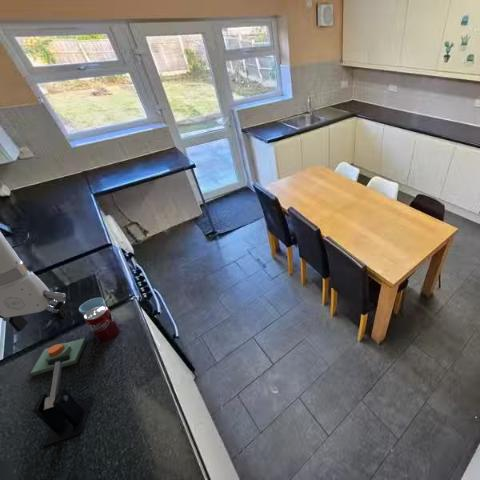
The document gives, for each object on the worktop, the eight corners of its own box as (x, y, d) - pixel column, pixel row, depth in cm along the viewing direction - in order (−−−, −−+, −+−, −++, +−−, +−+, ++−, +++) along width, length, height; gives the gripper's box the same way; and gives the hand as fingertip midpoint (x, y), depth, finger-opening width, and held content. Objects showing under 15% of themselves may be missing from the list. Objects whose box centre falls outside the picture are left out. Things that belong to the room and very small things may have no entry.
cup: (86, 330, 104) (73, 310, 99) (102, 316, 111) (91, 296, 105) (103, 332, 103) (91, 312, 98) (119, 317, 110) (108, 298, 104)
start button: (48, 357, 90) (45, 354, 89) (53, 349, 93) (50, 346, 92) (61, 354, 91) (58, 350, 90) (65, 345, 94) (63, 342, 93)
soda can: (107, 328, 105) (93, 305, 99) (125, 328, 104) (112, 305, 98) (93, 343, 99) (77, 320, 93) (112, 343, 98) (97, 320, 92)
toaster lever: (52, 361, 76) (46, 359, 74) (71, 356, 78) (66, 354, 76) (44, 412, 69) (37, 411, 68) (65, 405, 71) (59, 404, 69)
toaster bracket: (61, 411, 78) (38, 387, 72) (94, 400, 80) (74, 376, 74) (45, 448, 70) (18, 425, 64) (82, 435, 72) (59, 411, 66)
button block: (34, 377, 88) (26, 369, 86) (47, 353, 96) (41, 345, 94) (78, 364, 91) (72, 356, 89) (87, 341, 99) (82, 334, 97)
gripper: (-53, 290, 62) (-5, 341, 70) (36, 277, 65) (72, 327, 73) (-25, 271, 68) (16, 320, 76) (55, 260, 71) (85, 308, 80)
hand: (43, 323), depth 75 cm, fingers open, 9 cm apart
